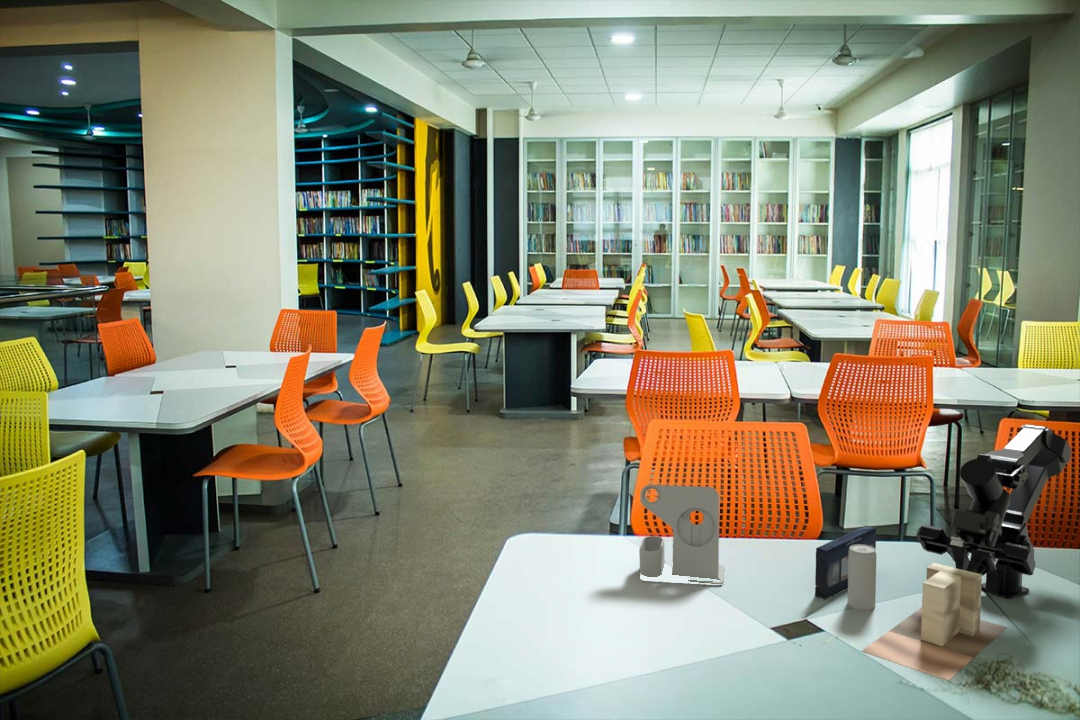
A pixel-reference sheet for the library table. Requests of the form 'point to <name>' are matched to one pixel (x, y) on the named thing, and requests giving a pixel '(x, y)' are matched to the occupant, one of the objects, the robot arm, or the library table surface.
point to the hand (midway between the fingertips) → (959, 590)
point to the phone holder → (684, 533)
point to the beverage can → (862, 577)
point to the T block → (950, 603)
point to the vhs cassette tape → (838, 561)
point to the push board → (932, 647)
